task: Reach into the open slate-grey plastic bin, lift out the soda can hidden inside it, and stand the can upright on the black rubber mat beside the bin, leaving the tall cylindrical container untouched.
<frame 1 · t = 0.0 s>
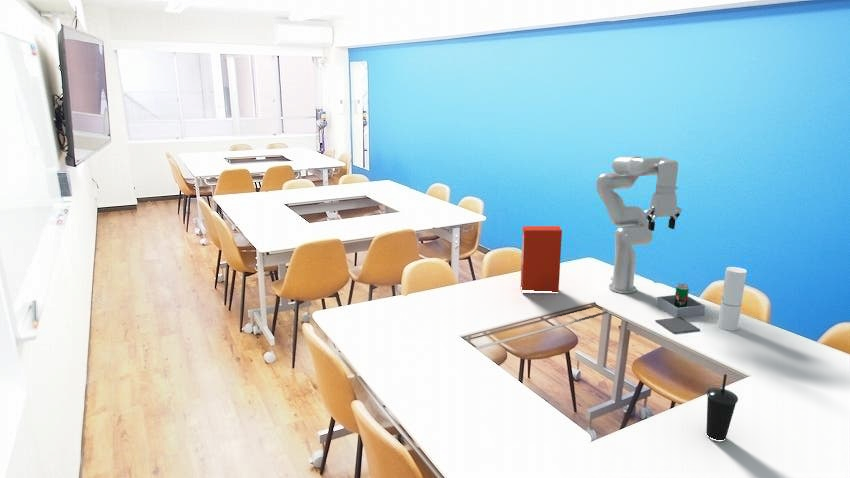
hand: (661, 229, 226), 37 cm above the table, tool pointing down, fingers open, 9 cm apart
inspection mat: (677, 325, 219), on the table
drinking cup: (715, 437, 151), on the table
file binder: (539, 291, 259), on the table
cylindrical container: (727, 327, 218), on the table
soda can: (679, 311, 234), resting in grey bin
grey bin: (679, 310, 234), on the table
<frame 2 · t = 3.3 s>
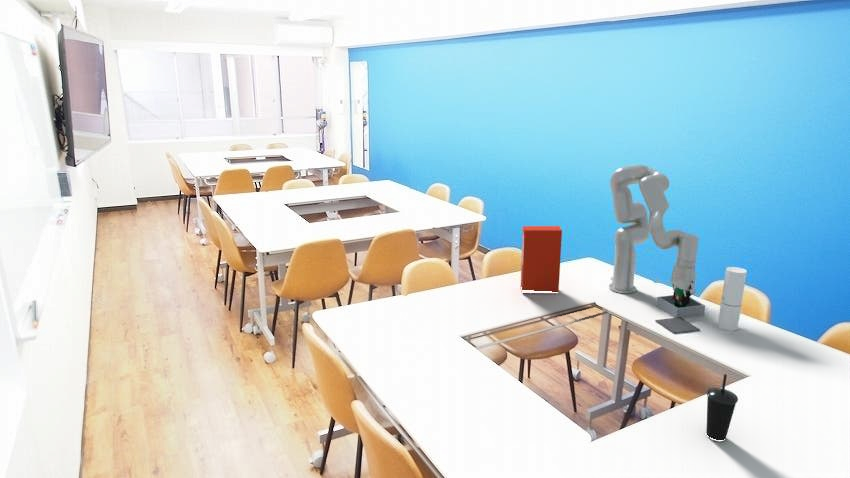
hand: (680, 301, 232), 4 cm above the table, tool pointing down, fingers closed on soda can, 5 cm apart
soda can: (679, 311, 234), resting in grey bin, touching gripper
everything else where it was.
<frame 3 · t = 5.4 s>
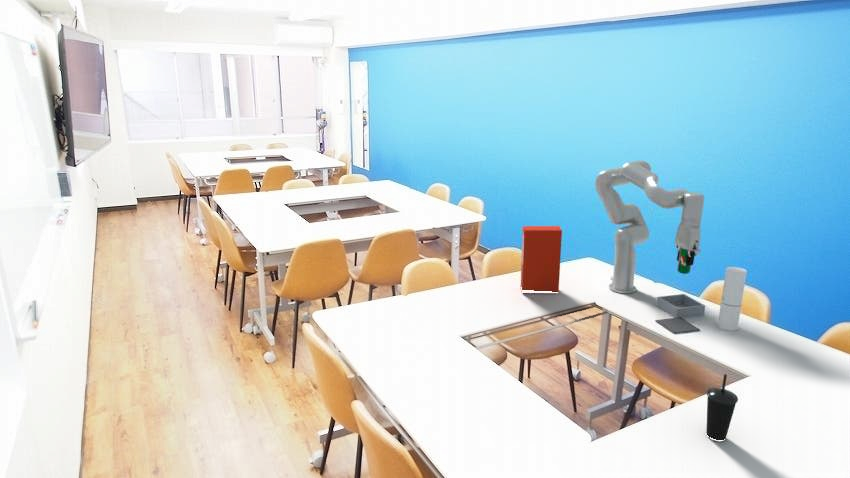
hand: (684, 262, 228), 22 cm above the table, tool pointing down, fingers closed on soda can, 5 cm apart
soda can: (683, 272, 229), point 18 cm above the table, touching gripper
everything else where it was.
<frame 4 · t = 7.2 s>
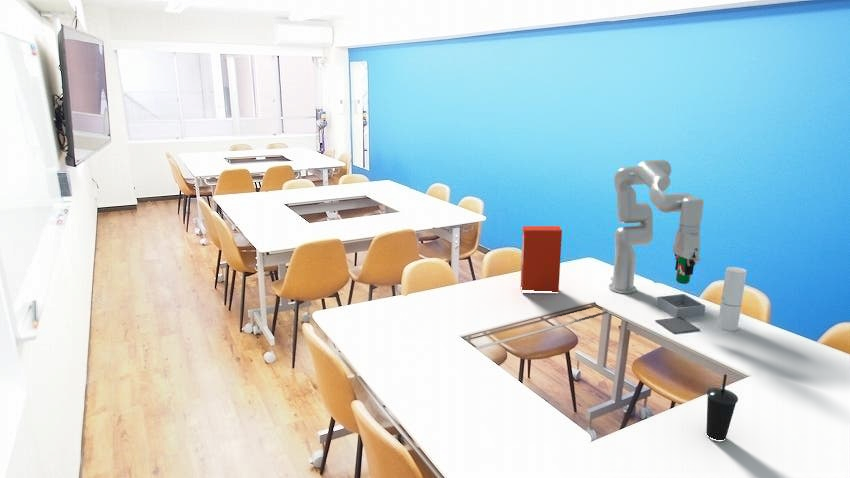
hand: (683, 271, 213), 24 cm above the table, tool pointing down, fingers closed on soda can, 5 cm apart
soda can: (682, 282, 214), point 19 cm above the table, touching gripper
everything else where it was.
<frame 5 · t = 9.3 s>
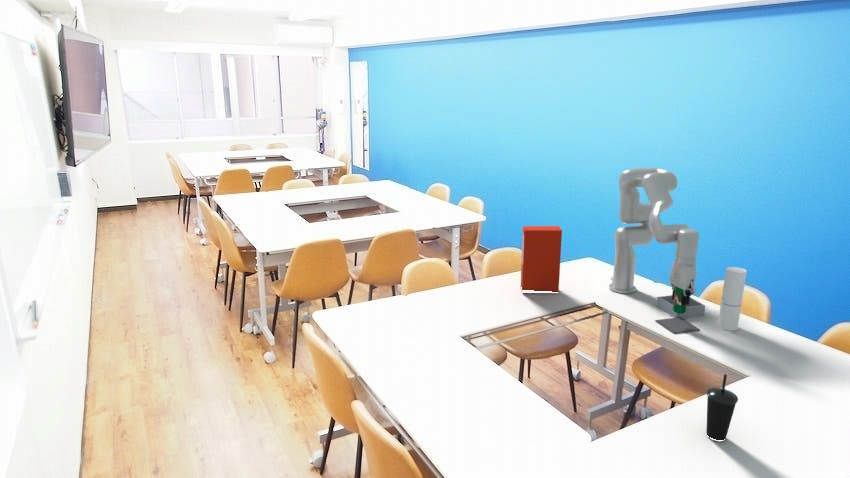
hand: (680, 301, 216), 11 cm above the table, tool pointing down, fingers closed on soda can, 5 cm apart
soda can: (679, 311, 218), point 6 cm above the table, touching gripper
everything else where it was.
when the fingers open (7 cm above the table, at t = 11.0 s): soda can drops 2 cm, resting on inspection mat.
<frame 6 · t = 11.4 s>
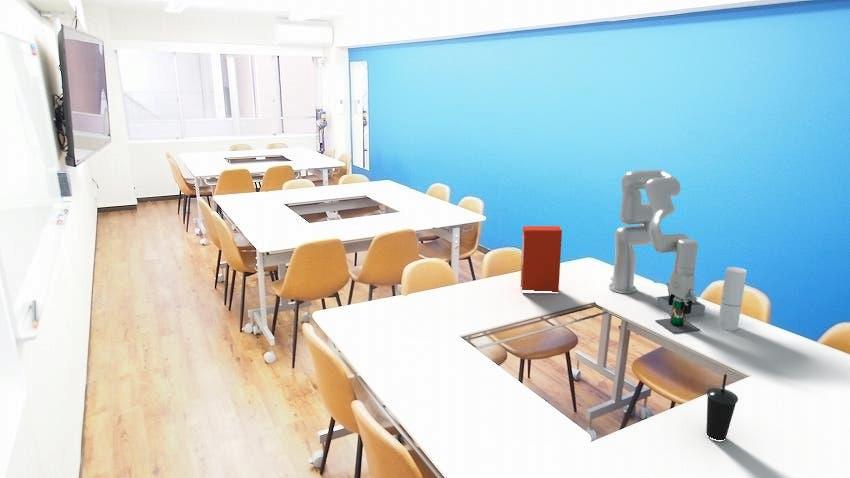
hand: (679, 309, 217), 8 cm above the table, tool pointing down, fingers open, 8 cm apart
soda can: (676, 324, 220), resting on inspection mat
everything else where it was.
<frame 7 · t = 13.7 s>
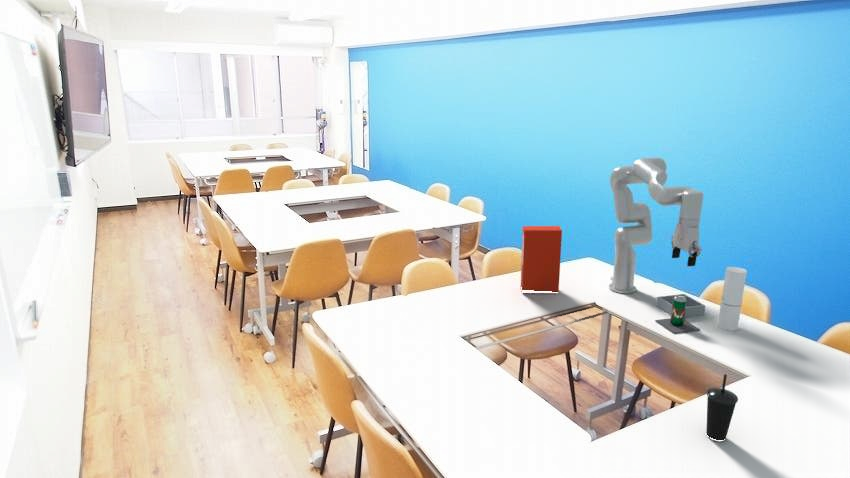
hand: (683, 261, 216), 27 cm above the table, tool pointing down, fingers open, 9 cm apart
nothing on the table moved.
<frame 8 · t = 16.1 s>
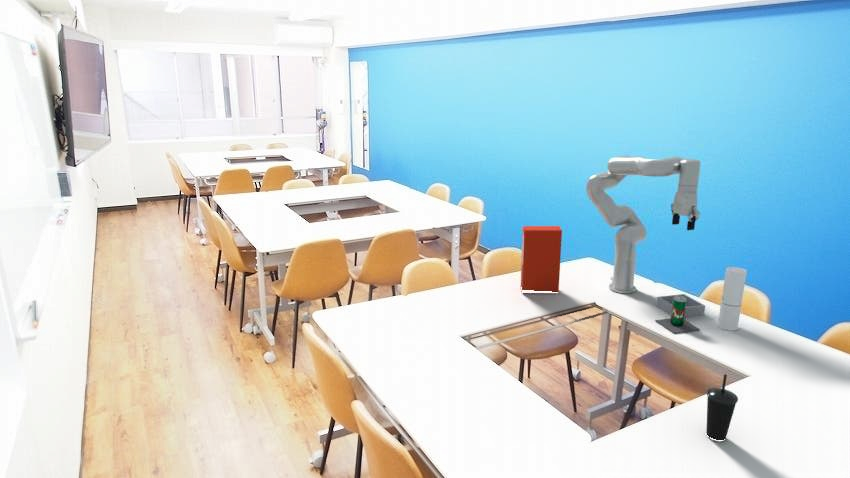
hand: (682, 227, 230), 36 cm above the table, tool pointing down, fingers open, 9 cm apart
nothing on the table moved.
at the end: soda can inside the target area on the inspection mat (0.4 cm from its centre), point 0.4 cm above the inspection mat's base; soda can tilted 0°; the gripper is holding nothing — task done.
